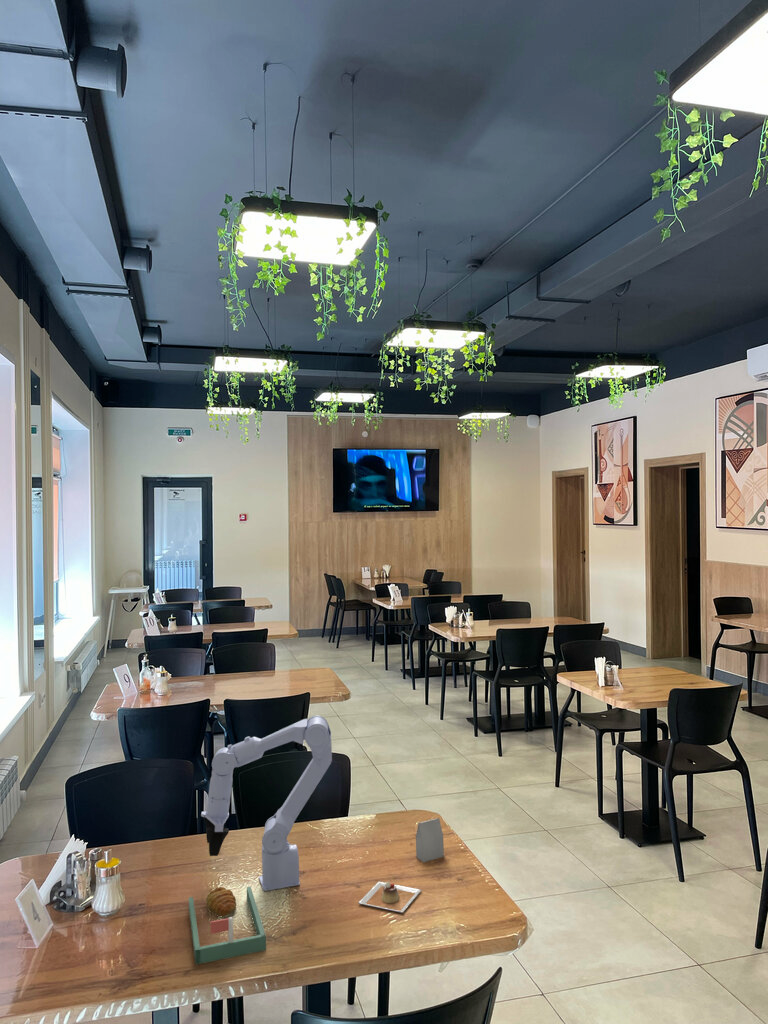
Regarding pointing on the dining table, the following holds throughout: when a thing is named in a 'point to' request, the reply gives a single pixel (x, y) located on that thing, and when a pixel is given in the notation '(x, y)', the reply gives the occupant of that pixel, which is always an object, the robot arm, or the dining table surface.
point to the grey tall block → (429, 840)
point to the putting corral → (231, 946)
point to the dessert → (389, 894)
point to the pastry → (221, 902)
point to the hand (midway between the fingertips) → (212, 848)
